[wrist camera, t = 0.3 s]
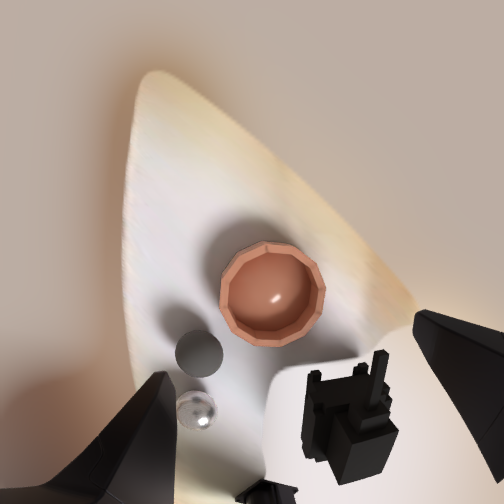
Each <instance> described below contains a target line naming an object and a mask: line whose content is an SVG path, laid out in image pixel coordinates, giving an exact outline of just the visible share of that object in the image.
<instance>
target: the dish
mask: <svg viewBox="0 0 504 504" xmlns="http://www.w3.org/2000/svg"><path fill="white" fill-rule="evenodd" d="M325 291H326V287H325V284H324V281H323V279H322V276H321V273H320V271H319V268H318V266H317V263H316V262H314V261H313V260H312V259H310V258H309V257H308V256H306V255H305V254H304V253H302V252H301V251H300V250H298V249H297V248H296V247H294V246H292V245H290V244H287V243H277V242H266V241H260V242H258V243H256V244H254V245H252V246H249V247H247V248H245V249H243V250H241V251H238V252H237V253H236V254H235V256H234V257H233V259H232V260H231V261H230V263H229V264H228V266H227V267H226V268H225V270H224V271H223V273H222V276H221V288H220V302H219V309H220V311H221V313H222V315H223V317H224V319H225V320H226V322H227V324H228V326H229V328H230V330H231V332H232V333H234V334H235V335H237V336H239V337H240V338H242V339H244V340H245V341H247V342H249V343H250V344H252V345H254V346H269V347H282V346H284V345H286V344H288V343H290V342H292V341H295V340H297V339H299V338H301V337H303V336H305V335H306V334H307V333H308V331H309V330H310V329H311V327H312V326H313V325H314V324H315V322H316V321H317V320H318V318H319V317H320V316H321V314H322V310H323V304H324V298H325Z"/></svg>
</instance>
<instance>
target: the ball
mask: <svg viewBox="0 0 504 504" xmlns="http://www.w3.org/2000/svg"><path fill="white" fill-rule="evenodd" d="M175 357H176V361H177V364H178V365H179V367H180V368H181V369H182V370H183V371H184V372H185V373H186V374H188V375H190V376H193V377H197V378H203V377H207V376H210V375H212V374H214V373H215V372H216V371H217V370H218V369H219V367H220V366H221V364H222V361H223V349H222V346H221V344H220V342H219V341H218V340H217V338H216V337H214V336H213V335H212V334H210V333H208V332H205V331H192V332H189V333H187V334H185V335H184V336H183V337H182V338H181V339H180V340H179V342H178V343H177V346H176V350H175Z"/></svg>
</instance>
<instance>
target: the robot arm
mask: <svg viewBox="0 0 504 504" xmlns="http://www.w3.org/2000/svg"><path fill="white" fill-rule="evenodd" d="M413 336H414V338H415V340H416V341H417V343H418V345H419V347H420V349H421V351H422V353H423V355H424V357H425V358H426V360H427V362H428V364H429V365H430V367H431V369H432V371H433V372H434V374H435V375H436V377H437V378H438V380H439V381H440V383H441V384H442V386H443V387H444V389H445V390H446V392H447V394H448V395H449V397H450V398H451V400H452V402H453V404H454V405H455V407H456V408H457V410H458V412H459V413H460V415H461V417H462V418H463V420H464V422H465V424H466V425H467V427H468V429H469V431H470V432H471V434H472V436H473V438H474V440H475V441H476V443H477V444H478V447H479V449H480V451H481V453H482V455H483V457H484V459H485V460H486V463H487V465H488V467H489V468H490V471H491V473H492V475H493V477H494V479H495V481H496V482H497V484H498V483H499V482H500V481H502V480H503V479H504V333H503V332H499V331H496V330H493V329H490V328H486V327H483V326H480V325H476V324H473V323H470V322H466V321H463V320H459V319H456V318H453V317H449V316H446V315H443V314H439V313H436V312H432V311H429V310H426V309H425V310H421V311H418V312H417V313H416V314H415V317H414V324H413ZM176 443H177V412H176V391H175V387H174V385H173V383H172V381H171V379H170V377H169V375H168V373H167V372H166V371H158V372H154V373H153V374H152V375H151V376H150V378H149V379H148V380H147V381H146V382H145V383H144V384H143V385H142V387H141V388H140V389H139V390H138V391H137V392H136V393H135V394H134V396H133V397H132V398H131V399H130V400H129V401H128V402H127V403H126V405H125V406H124V407H123V408H122V409H121V410H120V411H119V412H118V413H117V415H116V416H115V417H114V418H113V419H112V420H111V421H110V422H109V424H108V425H107V426H106V427H105V428H104V429H103V430H102V431H101V433H100V434H99V435H98V436H97V437H96V438H95V439H94V440H93V441H92V442H91V444H90V445H88V447H87V448H86V449H85V450H84V451H83V452H82V453H81V454H80V455H79V456H77V457H76V458H75V459H74V460H73V461H72V462H71V463H70V464H69V465H67V466H66V467H65V468H64V469H63V470H62V471H60V472H59V473H58V474H57V475H56V476H55V477H54V478H52V479H51V480H50V481H48V482H46V483H44V484H42V485H39V486H32V487H20V488H2V489H0V504H174V480H175V460H176ZM296 492H298V488H297V487H292V486H288V485H284V484H279V483H276V482H272V481H268V480H264V479H262V480H259V481H258V482H257V483H255V484H254V485H253V486H251V487H250V488H249V489H247V490H246V491H244V492H243V493H241V494H240V495H239V496H237V497H236V498H235V502H239V503H243V504H296V502H295V498H294V494H295V493H296Z"/></svg>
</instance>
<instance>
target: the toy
mask: <svg viewBox="0 0 504 504" xmlns="http://www.w3.org/2000/svg"><path fill="white" fill-rule="evenodd" d="M388 359H389V353H387V352H386V351H385V350H384V349H383V350H378V351H374V355H373V361H372V366H371V372H370V375H369V374H368V367H369V366H368V365H367V364H366V363H365V362H363V363H358V366H355V367H354V368H353V374H352V376H349V377H344V378H338V379H332V380H325V381H321V375H322V374H321V372H320V371H319V370H314V371H311V372H310V373H309V374H308V376H307V387H306V395H305V405H304V414H303V424H302V432H301V440H302V442H303V444H302V449H303V452H304V455H305V458H309V459H312V458H315V461H316V462H322V461H327V460H328V462H329V464H330V467H331V469H332V471H333V474H334V476H335V478H336V480H337V483H338V485H343V484H347V483H351V482H354V481H358V480H361V479H365V478H367V477H371V476H374V475H376V474H380V473H382V470H383V468H384V466H385V464H386V461H387V459H388V457H389V455H390V452H391V450H392V447H393V445H394V442H395V440H396V437H397V435H398V432H399V430H398V429H397V428H396V426H395V425H394V424H393V422H392V421H391V420H390V419H389V416H390V413H391V412H390V411H389V410H390V407H391V403H392V398H391V397H390V396H389V395H388V394H389V390H390V387H389V386H388V385H387V384H386V383H385V382H384V378H385V373H386V369H387V364H388Z"/></svg>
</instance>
